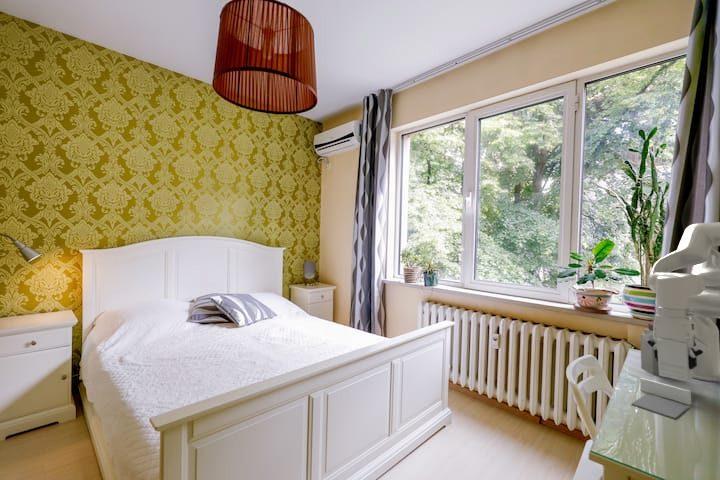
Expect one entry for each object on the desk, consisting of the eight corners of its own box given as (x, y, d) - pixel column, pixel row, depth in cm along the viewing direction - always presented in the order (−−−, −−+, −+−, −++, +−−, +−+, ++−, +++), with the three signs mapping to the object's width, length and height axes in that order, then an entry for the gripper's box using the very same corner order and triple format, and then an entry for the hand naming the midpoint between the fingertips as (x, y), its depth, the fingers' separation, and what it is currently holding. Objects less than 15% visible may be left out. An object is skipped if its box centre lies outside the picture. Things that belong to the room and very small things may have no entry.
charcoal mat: (647, 394, 106) (647, 393, 106) (689, 407, 97) (689, 406, 97) (631, 404, 100) (631, 403, 100) (675, 419, 91) (675, 417, 91)
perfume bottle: (674, 375, 121) (672, 327, 121) (653, 374, 122) (651, 326, 122) (661, 368, 127) (659, 322, 128) (641, 367, 129) (639, 322, 129)
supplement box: (693, 376, 109) (691, 338, 109) (688, 382, 105) (686, 343, 105) (664, 369, 115) (662, 334, 115) (657, 375, 111) (656, 338, 111)
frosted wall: (642, 389, 110) (641, 377, 110) (691, 403, 100) (690, 390, 100) (640, 390, 109) (640, 378, 109) (689, 404, 99) (689, 391, 99)
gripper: (713, 315, 104) (715, 369, 104) (644, 306, 119) (646, 354, 119) (705, 319, 100) (708, 375, 100) (635, 310, 115) (638, 359, 115)
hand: (675, 364), depth 110 cm, fingers closed on supplement box, 7 cm apart
